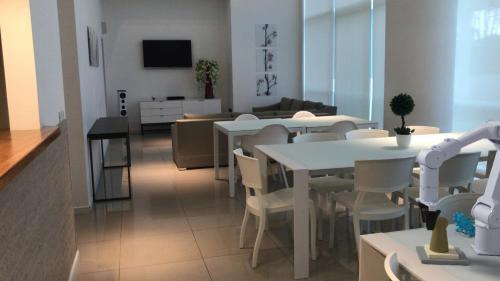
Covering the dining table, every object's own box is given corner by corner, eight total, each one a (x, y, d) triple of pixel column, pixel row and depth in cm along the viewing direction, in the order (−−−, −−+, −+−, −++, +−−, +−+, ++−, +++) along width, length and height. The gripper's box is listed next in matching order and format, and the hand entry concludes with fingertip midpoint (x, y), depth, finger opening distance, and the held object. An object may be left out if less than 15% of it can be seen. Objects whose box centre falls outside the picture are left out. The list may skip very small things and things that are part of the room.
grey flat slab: (458, 250, 161) (459, 243, 161) (468, 265, 150) (468, 257, 149) (415, 249, 164) (415, 242, 164) (421, 263, 152) (421, 255, 152)
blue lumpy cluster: (464, 235, 172) (450, 211, 177) (453, 243, 176) (440, 219, 181) (484, 233, 177) (470, 210, 182) (473, 241, 181) (459, 218, 186)
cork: (426, 246, 159) (426, 215, 158) (443, 245, 160) (444, 214, 158) (434, 253, 153) (435, 220, 152) (452, 252, 154) (453, 219, 152)
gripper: (412, 180, 162) (412, 219, 164) (419, 191, 148) (419, 233, 150) (434, 180, 161) (433, 219, 163) (443, 191, 147) (442, 233, 148)
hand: (428, 226), depth 156 cm, fingers open, 7 cm apart
